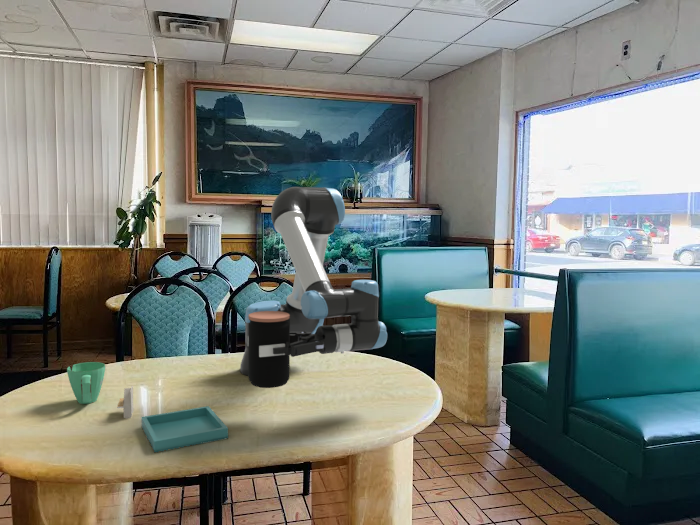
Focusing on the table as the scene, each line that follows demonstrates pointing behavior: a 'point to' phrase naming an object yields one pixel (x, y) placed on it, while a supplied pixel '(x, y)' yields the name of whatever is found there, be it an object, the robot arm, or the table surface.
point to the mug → (86, 380)
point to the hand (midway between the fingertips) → (253, 346)
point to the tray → (183, 428)
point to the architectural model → (127, 402)
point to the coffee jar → (268, 332)
